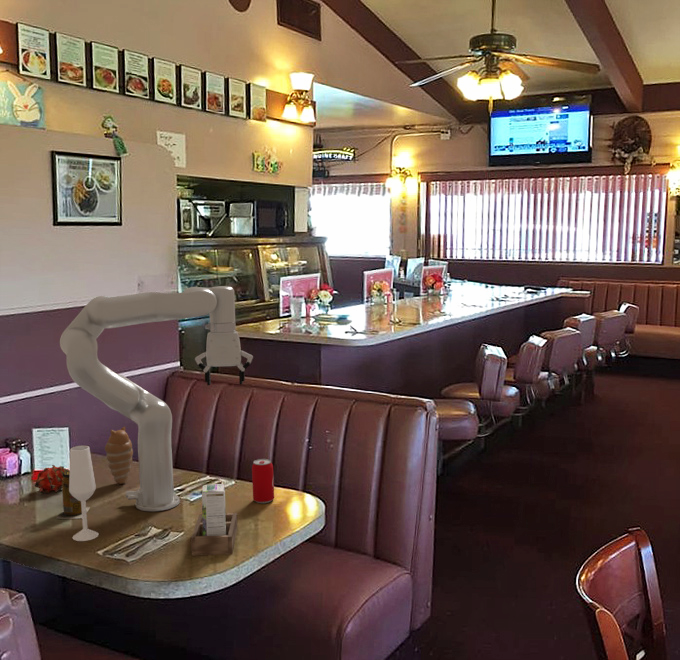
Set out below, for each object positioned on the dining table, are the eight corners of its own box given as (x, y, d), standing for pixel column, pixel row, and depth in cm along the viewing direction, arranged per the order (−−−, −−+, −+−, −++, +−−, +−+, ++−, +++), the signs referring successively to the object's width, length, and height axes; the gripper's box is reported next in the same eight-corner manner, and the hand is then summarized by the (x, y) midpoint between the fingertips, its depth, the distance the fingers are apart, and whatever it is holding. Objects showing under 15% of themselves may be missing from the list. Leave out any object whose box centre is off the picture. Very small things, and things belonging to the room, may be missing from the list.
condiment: (90, 507, 230) (87, 468, 228) (82, 518, 222) (79, 477, 220) (65, 508, 230) (62, 468, 228) (55, 519, 221) (52, 478, 220)
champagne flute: (66, 539, 207) (60, 450, 204) (83, 529, 213) (77, 443, 210) (87, 542, 205) (81, 452, 202) (104, 532, 211) (98, 445, 208)
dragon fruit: (73, 490, 250) (40, 506, 241) (57, 471, 253) (24, 487, 244) (78, 472, 245) (45, 489, 236) (62, 454, 248) (28, 469, 239)
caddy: (191, 555, 196) (190, 528, 195) (200, 530, 212) (198, 505, 211) (232, 553, 196) (231, 527, 195) (237, 529, 212) (236, 504, 211)
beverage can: (276, 497, 236) (274, 458, 234) (272, 504, 230) (270, 464, 228) (255, 496, 236) (254, 458, 235) (251, 504, 230) (249, 464, 229)
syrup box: (203, 538, 203) (201, 484, 201) (226, 537, 204) (224, 483, 202) (203, 547, 198) (200, 492, 196) (226, 546, 199) (224, 490, 196)
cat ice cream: (125, 477, 257) (122, 423, 254) (140, 482, 252) (137, 427, 249) (102, 484, 250) (98, 429, 247) (117, 489, 245) (113, 433, 242)
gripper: (191, 330, 231) (194, 387, 234) (251, 328, 232) (253, 385, 234) (195, 326, 239) (197, 382, 241) (252, 325, 239) (254, 380, 242)
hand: (225, 384), depth 238 cm, fingers open, 9 cm apart
